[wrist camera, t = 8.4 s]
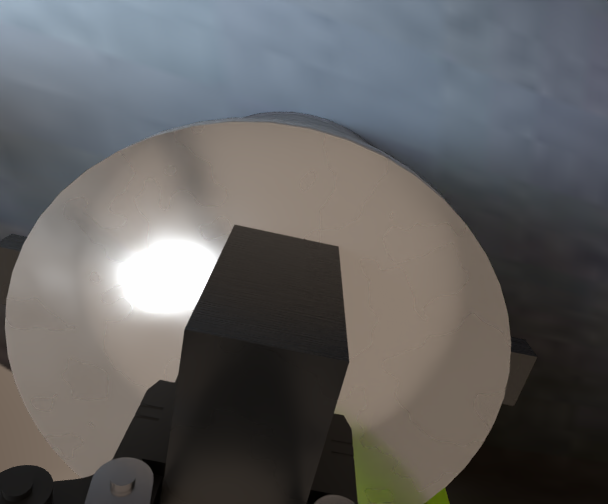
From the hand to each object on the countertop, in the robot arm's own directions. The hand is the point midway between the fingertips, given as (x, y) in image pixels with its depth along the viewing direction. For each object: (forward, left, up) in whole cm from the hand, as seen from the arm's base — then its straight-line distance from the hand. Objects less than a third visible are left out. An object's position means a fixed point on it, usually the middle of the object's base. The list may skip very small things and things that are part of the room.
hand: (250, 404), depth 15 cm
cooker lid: (0, 0, -2) cm, 2 cm away
